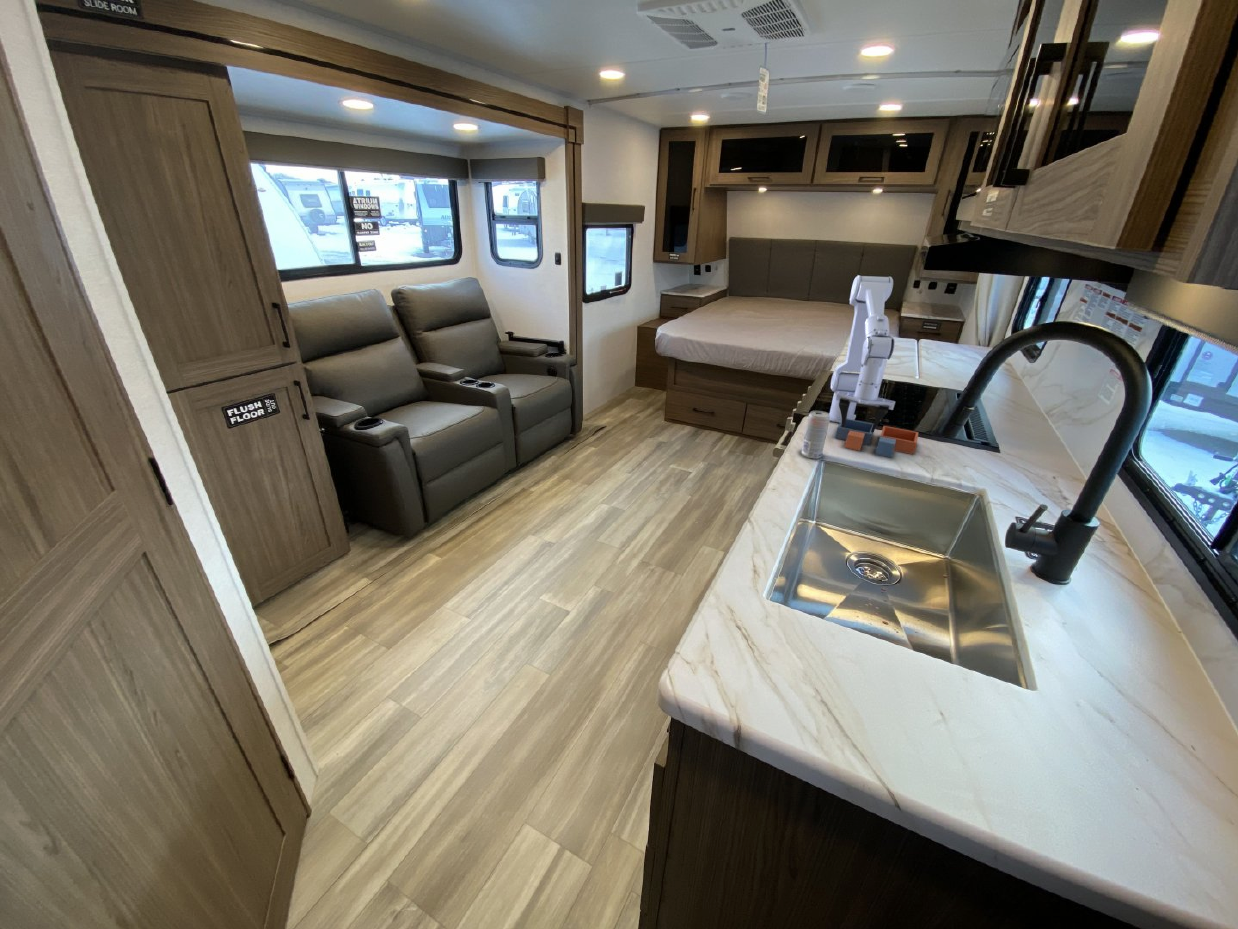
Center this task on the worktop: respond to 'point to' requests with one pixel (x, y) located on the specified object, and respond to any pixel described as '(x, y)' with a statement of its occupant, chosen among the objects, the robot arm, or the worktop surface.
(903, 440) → the rust bin
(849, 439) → the rust block
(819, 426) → the energy drink
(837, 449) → the worktop surface
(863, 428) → the slate bin
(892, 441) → the slate block
